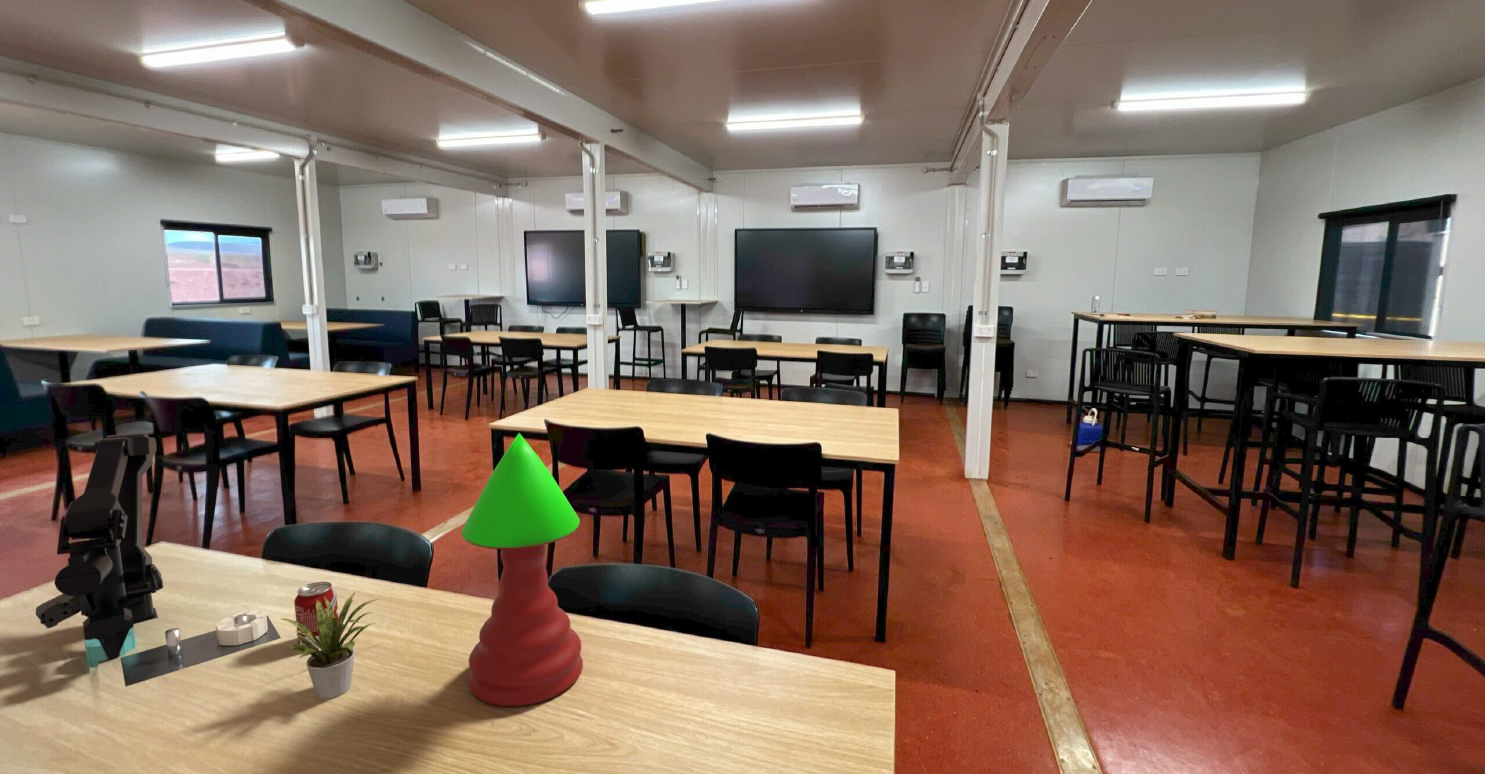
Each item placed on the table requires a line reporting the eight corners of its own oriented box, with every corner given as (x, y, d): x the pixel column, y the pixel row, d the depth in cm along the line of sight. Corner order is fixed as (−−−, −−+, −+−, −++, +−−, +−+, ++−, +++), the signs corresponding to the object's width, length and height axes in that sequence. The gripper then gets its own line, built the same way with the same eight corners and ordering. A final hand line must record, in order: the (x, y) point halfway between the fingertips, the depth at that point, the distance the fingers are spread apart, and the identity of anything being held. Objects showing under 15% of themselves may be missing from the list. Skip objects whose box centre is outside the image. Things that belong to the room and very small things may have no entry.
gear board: (121, 663, 119) (117, 631, 118) (267, 620, 135) (265, 592, 134) (126, 692, 111) (122, 659, 110) (281, 643, 126) (278, 613, 126)
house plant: (406, 675, 117) (400, 590, 115) (336, 723, 104) (328, 629, 102) (346, 659, 122) (340, 577, 119) (272, 703, 109) (263, 612, 106)
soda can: (320, 657, 122) (315, 598, 120) (290, 653, 123) (284, 593, 121) (348, 639, 129) (344, 581, 127) (319, 634, 130) (314, 578, 128)
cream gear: (215, 634, 127) (213, 620, 126) (262, 620, 132) (260, 606, 132) (221, 650, 122) (220, 635, 121) (270, 634, 127) (269, 620, 126)
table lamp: (537, 633, 132) (531, 416, 125) (605, 667, 121) (602, 431, 114) (445, 680, 116) (431, 434, 109) (513, 724, 105) (503, 453, 98)
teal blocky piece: (87, 656, 121) (84, 636, 120) (135, 643, 126) (132, 623, 125) (88, 671, 116) (85, 650, 116) (138, 656, 121) (135, 637, 120)
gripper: (36, 569, 119) (49, 648, 121) (34, 605, 106) (48, 692, 109) (120, 552, 127) (130, 626, 129) (128, 584, 114) (139, 665, 117)
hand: (112, 651), depth 121 cm, fingers closed on teal blocky piece, 7 cm apart
